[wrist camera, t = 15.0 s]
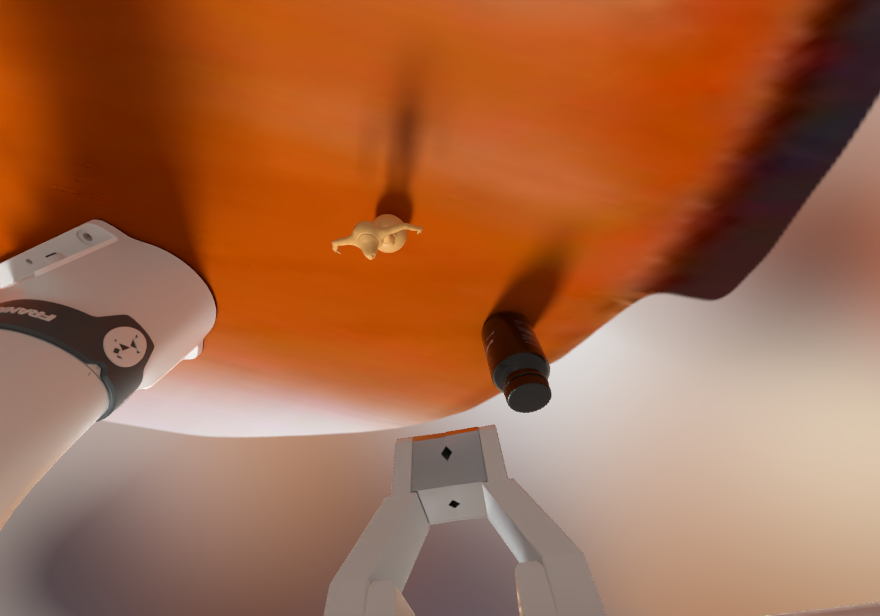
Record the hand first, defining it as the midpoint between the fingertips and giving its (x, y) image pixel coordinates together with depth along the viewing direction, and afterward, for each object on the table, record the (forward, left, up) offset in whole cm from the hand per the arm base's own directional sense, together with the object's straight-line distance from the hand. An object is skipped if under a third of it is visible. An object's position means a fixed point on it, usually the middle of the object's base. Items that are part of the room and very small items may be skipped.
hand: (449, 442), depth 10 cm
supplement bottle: (+7, -19, -29) cm, 36 cm away
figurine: (-5, -1, -29) cm, 30 cm away
